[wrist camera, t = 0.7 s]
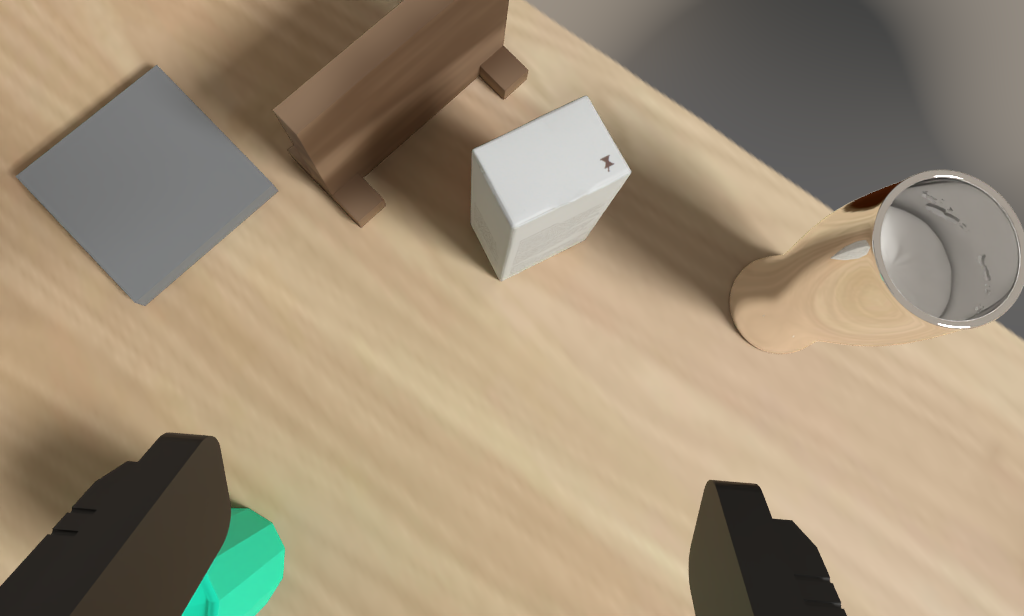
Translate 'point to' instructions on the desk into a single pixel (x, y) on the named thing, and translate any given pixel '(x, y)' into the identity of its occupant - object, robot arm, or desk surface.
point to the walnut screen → (393, 91)
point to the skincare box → (543, 186)
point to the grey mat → (147, 185)
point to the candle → (241, 569)
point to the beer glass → (888, 269)
